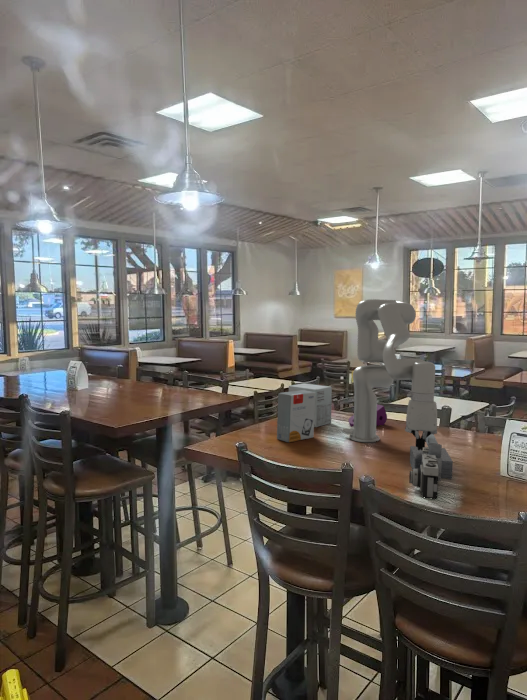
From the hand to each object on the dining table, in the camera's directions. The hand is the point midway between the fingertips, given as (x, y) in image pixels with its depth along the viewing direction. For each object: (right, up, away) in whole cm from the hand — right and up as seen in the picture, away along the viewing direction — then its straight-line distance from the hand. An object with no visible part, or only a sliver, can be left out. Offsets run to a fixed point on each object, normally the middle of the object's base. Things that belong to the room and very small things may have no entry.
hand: (420, 449), depth 175 cm
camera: (-5, -9, -19) cm, 22 cm away
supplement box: (-32, -1, +69) cm, 76 cm away
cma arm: (+4, +1, -2) cm, 4 cm away
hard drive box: (-41, -3, +40) cm, 57 cm away
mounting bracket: (-6, -2, +66) cm, 67 cm away
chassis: (+3, -7, -2) cm, 8 cm away
